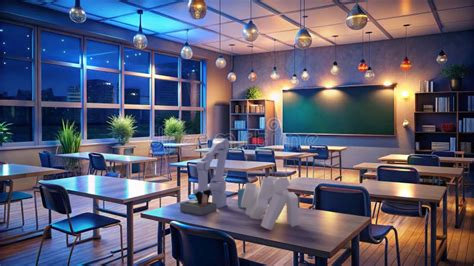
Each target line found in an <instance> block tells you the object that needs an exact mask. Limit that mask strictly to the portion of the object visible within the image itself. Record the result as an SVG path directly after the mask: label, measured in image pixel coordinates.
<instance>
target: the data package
mask: <svg viewBox="0 0 474 266" xmlns="http://www.w3.org/2000/svg"><path fill="white" fill-rule="evenodd" d="M244 190H245V187H242V188H239V189H238V190H237V207H238V208H240V209H244V210H246V207H241V202H242V197H243V194H244Z"/></svg>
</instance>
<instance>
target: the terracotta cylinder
mask: <svg viewBox="0 0 474 266" xmlns="http://www.w3.org/2000/svg"><path fill="white" fill-rule="evenodd" d="M206 205H207V194H204V193H203V196H202V204H199V207H202V206H206Z"/></svg>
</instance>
